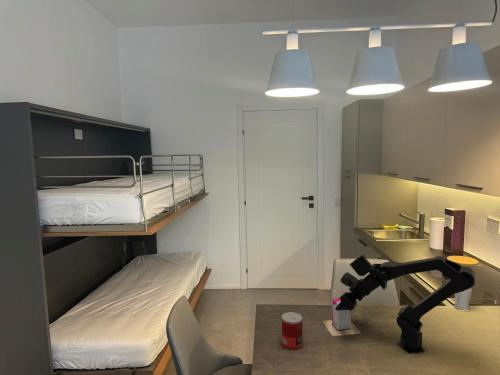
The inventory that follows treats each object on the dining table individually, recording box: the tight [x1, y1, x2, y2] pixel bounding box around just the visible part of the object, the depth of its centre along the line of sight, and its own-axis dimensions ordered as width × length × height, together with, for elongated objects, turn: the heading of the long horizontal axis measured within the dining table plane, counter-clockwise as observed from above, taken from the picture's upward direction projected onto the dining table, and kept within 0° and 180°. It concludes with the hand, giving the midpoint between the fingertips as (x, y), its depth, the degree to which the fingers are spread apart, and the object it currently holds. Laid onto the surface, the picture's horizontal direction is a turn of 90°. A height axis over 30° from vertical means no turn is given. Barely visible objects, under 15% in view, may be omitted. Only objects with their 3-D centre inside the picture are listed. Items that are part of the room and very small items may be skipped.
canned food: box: [281, 312, 304, 350], centre depth 129 cm, size 8×8×11 cm
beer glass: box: [453, 287, 473, 311], centre depth 154 cm, size 7×7×15 cm
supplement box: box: [331, 297, 352, 331], centre depth 141 cm, size 6×6×12 cm
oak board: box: [321, 319, 362, 337], centre depth 141 cm, size 12×12×1 cm
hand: (340, 305), depth 140 cm, fingers open, 9 cm apart
